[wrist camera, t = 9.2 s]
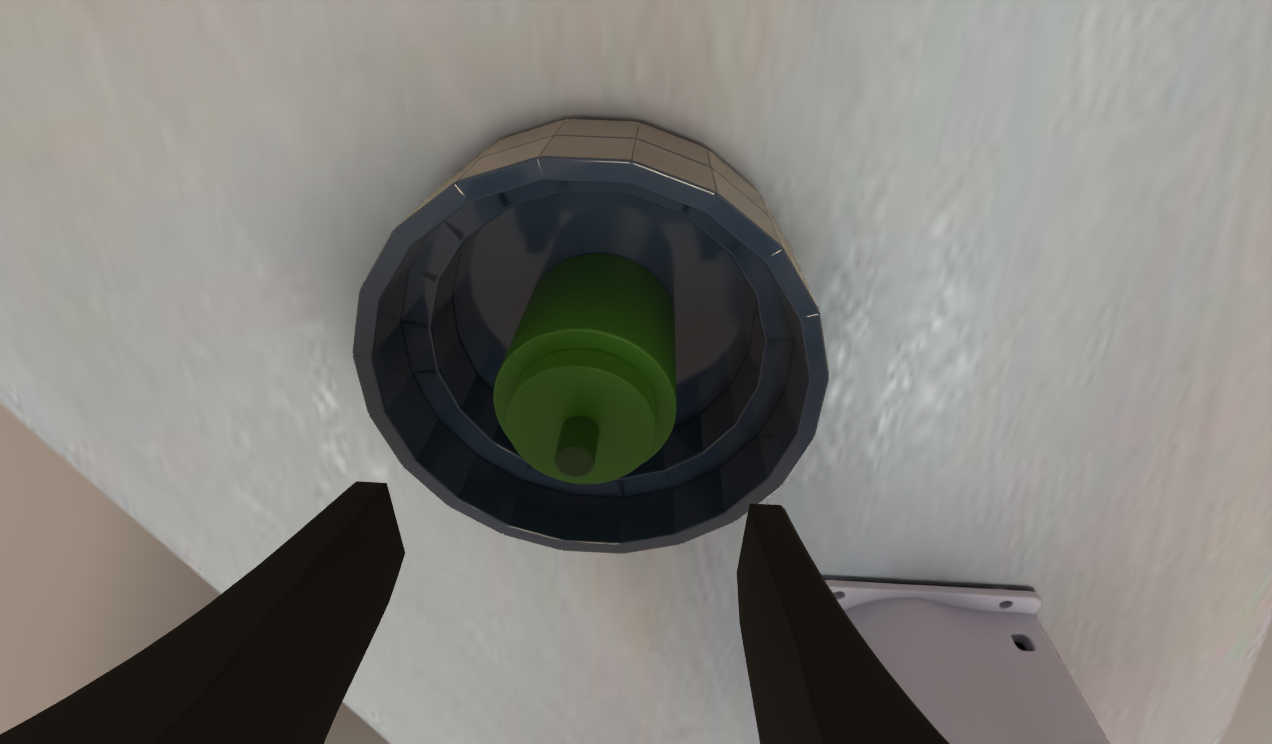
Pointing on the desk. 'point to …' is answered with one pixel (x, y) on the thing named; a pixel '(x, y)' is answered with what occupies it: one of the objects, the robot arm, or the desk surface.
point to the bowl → (499, 293)
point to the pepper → (590, 371)
